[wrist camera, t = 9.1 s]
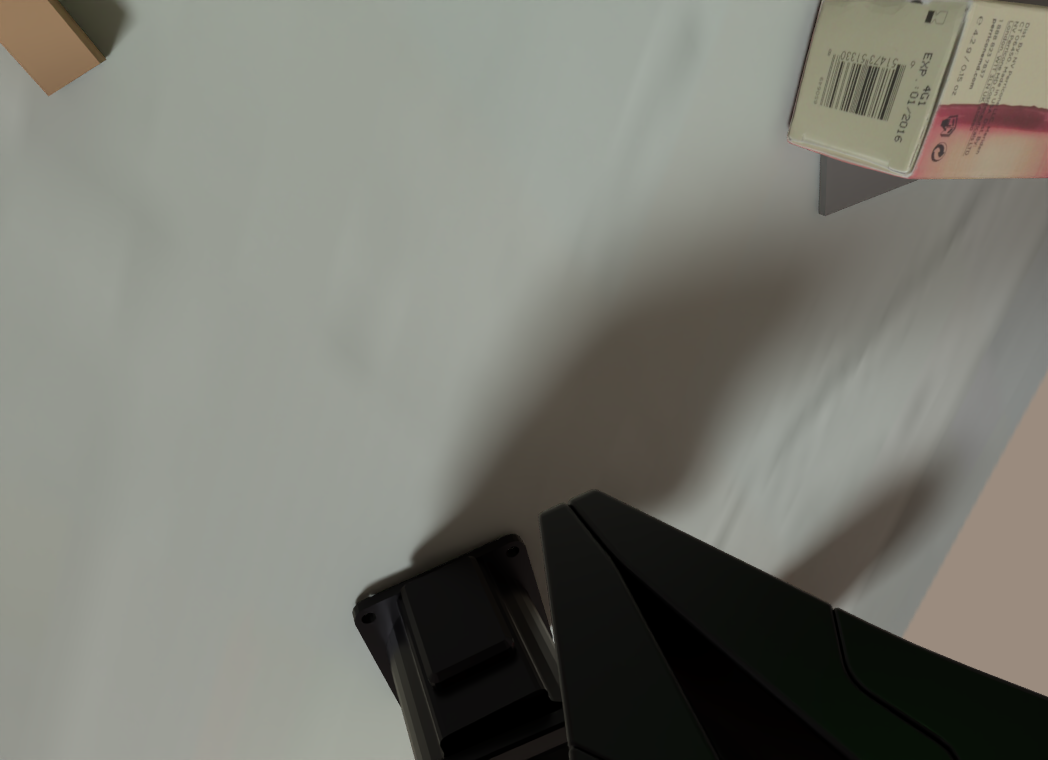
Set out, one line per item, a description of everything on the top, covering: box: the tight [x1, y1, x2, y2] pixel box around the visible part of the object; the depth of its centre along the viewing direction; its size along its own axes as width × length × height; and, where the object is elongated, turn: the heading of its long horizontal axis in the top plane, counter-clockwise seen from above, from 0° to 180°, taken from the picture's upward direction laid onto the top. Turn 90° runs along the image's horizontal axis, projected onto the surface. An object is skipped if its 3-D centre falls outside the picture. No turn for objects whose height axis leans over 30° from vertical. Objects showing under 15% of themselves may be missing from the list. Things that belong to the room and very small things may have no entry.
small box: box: [787, 0, 1048, 179], centre depth 20 cm, size 5×4×8 cm
